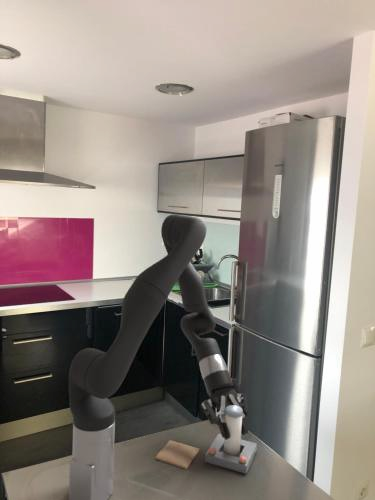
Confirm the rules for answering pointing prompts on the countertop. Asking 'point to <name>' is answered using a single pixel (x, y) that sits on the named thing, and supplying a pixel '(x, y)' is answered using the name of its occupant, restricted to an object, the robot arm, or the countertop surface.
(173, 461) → the pad
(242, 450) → the block
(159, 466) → the countertop surface
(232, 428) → the ball
